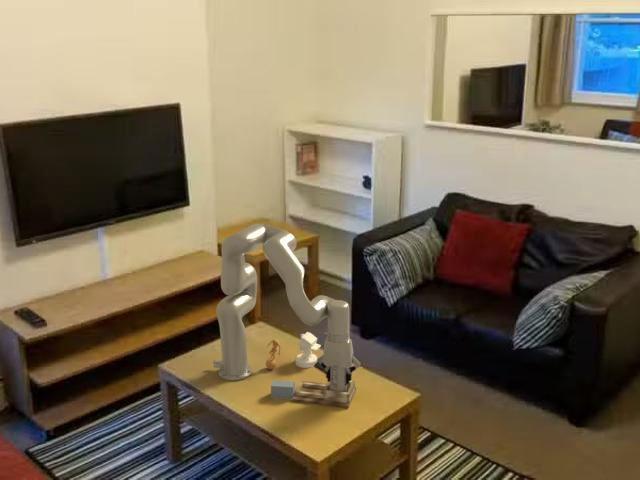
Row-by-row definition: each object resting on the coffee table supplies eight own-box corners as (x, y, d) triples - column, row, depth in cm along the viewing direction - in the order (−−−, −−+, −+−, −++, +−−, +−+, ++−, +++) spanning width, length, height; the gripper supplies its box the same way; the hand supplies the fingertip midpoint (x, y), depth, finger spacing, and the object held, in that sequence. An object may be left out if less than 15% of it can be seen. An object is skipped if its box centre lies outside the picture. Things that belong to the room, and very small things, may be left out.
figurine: (260, 366, 277) (259, 338, 273) (273, 361, 280) (272, 334, 276) (272, 374, 270) (271, 346, 267) (285, 369, 274) (284, 341, 270)
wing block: (271, 398, 254) (270, 386, 252) (273, 392, 258) (273, 380, 256) (293, 399, 253) (292, 387, 251) (295, 393, 257) (294, 381, 255)
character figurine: (301, 355, 284) (301, 328, 281) (323, 360, 281) (322, 332, 277) (291, 365, 277) (291, 337, 273) (313, 370, 273) (313, 342, 269)
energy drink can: (349, 395, 251) (349, 357, 247) (333, 398, 250) (333, 360, 245) (344, 387, 257) (344, 350, 252) (328, 389, 255) (328, 352, 250)
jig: (292, 401, 252) (291, 390, 250) (302, 383, 263) (301, 372, 262) (348, 408, 247) (348, 396, 245) (355, 389, 259) (355, 378, 257)
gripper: (311, 337, 245) (312, 383, 250) (360, 342, 241) (360, 389, 246) (317, 328, 252) (317, 373, 257) (365, 333, 247) (364, 378, 253)
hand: (338, 380), depth 252 cm, fingers open, 6 cm apart
